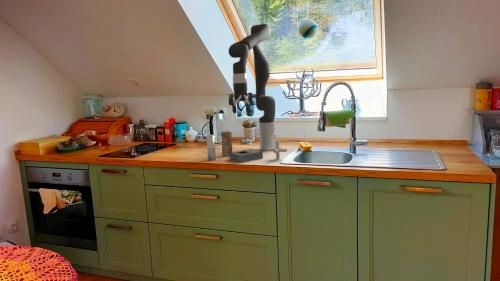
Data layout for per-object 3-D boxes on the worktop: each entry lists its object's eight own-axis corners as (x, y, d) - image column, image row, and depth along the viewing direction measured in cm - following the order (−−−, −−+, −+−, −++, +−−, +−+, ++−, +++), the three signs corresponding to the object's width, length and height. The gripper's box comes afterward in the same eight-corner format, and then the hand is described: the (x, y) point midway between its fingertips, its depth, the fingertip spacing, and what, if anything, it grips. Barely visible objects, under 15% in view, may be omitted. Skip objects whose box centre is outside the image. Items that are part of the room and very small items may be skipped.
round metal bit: (213, 158, 217) (211, 134, 215) (217, 160, 213) (216, 135, 211) (206, 160, 214) (205, 135, 212) (210, 161, 211) (209, 136, 209)
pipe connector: (289, 157, 213) (288, 139, 211) (284, 161, 203) (283, 142, 202) (272, 156, 216) (271, 139, 215) (266, 160, 207) (265, 142, 206)
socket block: (251, 155, 222) (250, 148, 221) (262, 158, 213) (262, 151, 213) (229, 159, 213) (229, 152, 212) (241, 162, 204) (240, 155, 204)
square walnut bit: (228, 154, 228) (227, 131, 225) (232, 155, 224) (231, 131, 222) (222, 155, 225) (220, 132, 223) (226, 156, 222) (225, 132, 219)
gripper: (246, 81, 212) (247, 111, 215) (225, 82, 204) (226, 113, 207) (254, 81, 206) (255, 111, 209) (233, 82, 198) (234, 113, 201)
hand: (241, 112), depth 208 cm, fingers open, 8 cm apart
